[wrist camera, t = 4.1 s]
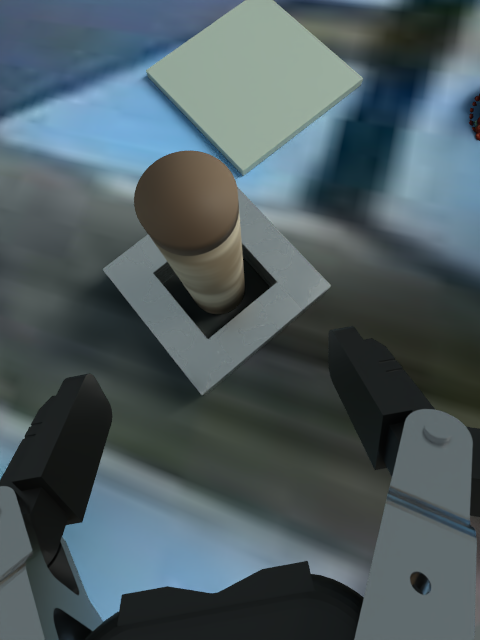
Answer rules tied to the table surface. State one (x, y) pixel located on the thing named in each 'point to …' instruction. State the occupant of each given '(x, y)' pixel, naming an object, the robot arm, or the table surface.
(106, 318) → the table surface
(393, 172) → the table surface
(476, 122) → the beaded bracelet pile
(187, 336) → the block
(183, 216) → the peg
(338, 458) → the table surface
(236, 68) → the tile
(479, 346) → the table surface
